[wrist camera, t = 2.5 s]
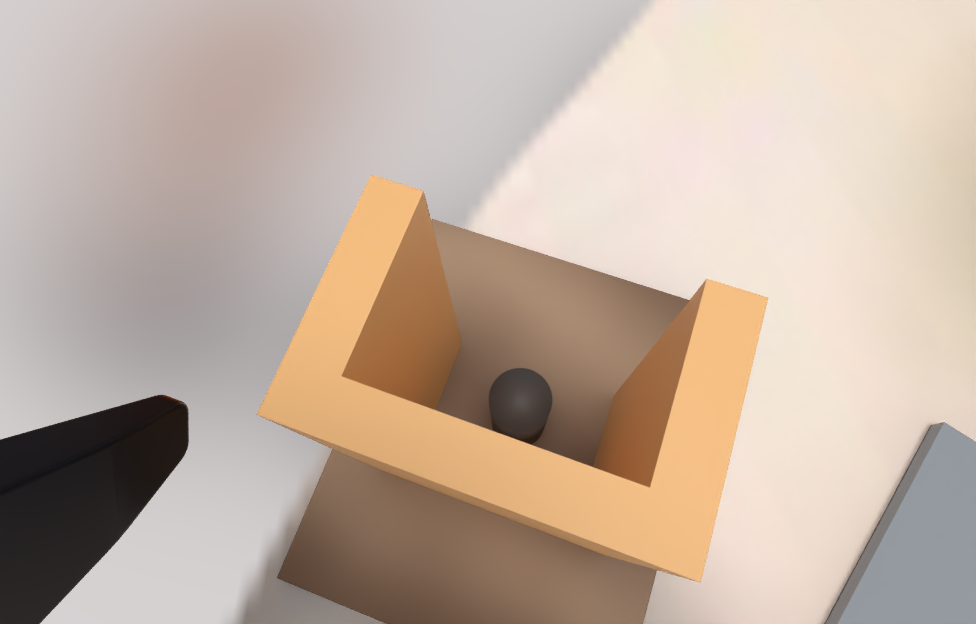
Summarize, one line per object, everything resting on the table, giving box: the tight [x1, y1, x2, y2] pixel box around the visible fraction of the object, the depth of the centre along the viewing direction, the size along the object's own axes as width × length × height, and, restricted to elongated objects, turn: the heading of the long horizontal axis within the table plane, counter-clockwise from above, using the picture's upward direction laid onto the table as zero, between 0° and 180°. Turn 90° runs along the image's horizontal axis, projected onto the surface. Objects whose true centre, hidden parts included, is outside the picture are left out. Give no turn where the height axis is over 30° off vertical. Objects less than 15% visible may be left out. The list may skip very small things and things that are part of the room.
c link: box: [257, 175, 768, 582], centre depth 14 cm, size 4×7×10 cm, turn 70°
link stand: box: [277, 219, 690, 624], centre depth 18 cm, size 12×10×4 cm
